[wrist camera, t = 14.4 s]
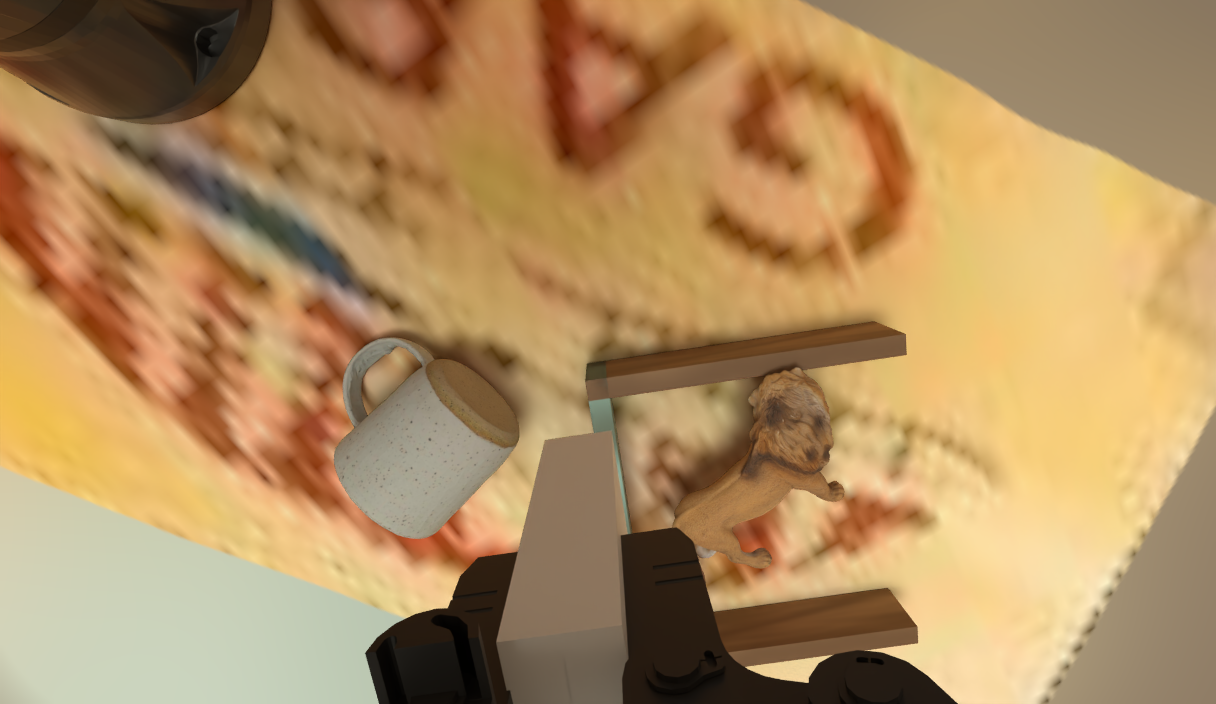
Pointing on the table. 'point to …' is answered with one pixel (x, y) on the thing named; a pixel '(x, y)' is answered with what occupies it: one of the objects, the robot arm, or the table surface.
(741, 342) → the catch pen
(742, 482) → the lion figurine
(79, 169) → the table surface
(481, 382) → the ceramic mug
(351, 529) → the table surface
